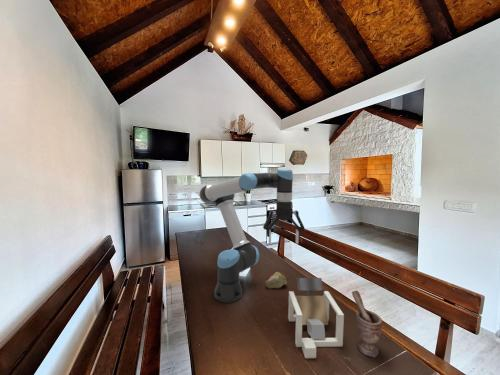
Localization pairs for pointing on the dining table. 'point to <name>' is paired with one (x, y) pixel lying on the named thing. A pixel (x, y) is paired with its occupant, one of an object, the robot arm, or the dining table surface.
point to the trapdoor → (311, 300)
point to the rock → (276, 281)
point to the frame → (339, 318)
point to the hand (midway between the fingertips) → (283, 243)
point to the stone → (315, 329)
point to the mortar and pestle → (367, 328)
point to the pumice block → (309, 348)
